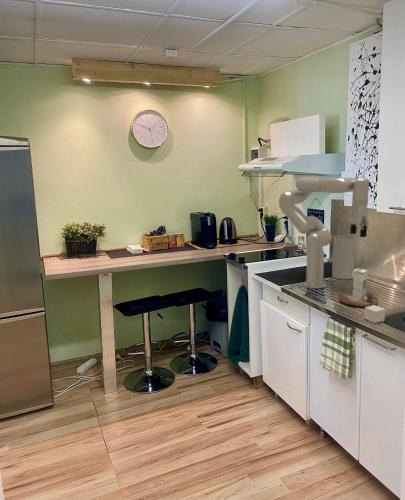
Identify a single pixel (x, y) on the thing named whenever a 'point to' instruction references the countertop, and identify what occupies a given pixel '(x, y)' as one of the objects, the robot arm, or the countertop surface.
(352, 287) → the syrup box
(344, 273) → the cylinder vase
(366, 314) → the white cube
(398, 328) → the countertop surface
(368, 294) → the turntable
